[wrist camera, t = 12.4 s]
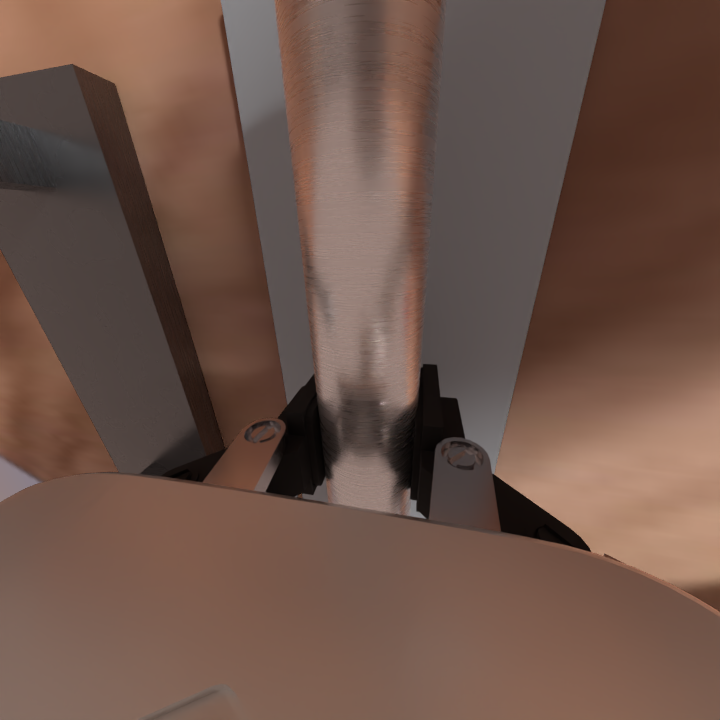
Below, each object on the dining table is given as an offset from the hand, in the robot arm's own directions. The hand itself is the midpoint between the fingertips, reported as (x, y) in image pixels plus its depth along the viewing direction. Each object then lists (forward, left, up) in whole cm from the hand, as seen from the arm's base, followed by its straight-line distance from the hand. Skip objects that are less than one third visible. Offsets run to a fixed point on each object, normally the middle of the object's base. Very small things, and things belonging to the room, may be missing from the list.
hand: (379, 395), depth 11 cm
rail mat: (0, 0, -3) cm, 3 cm away
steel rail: (0, 0, +1) cm, 1 cm away
